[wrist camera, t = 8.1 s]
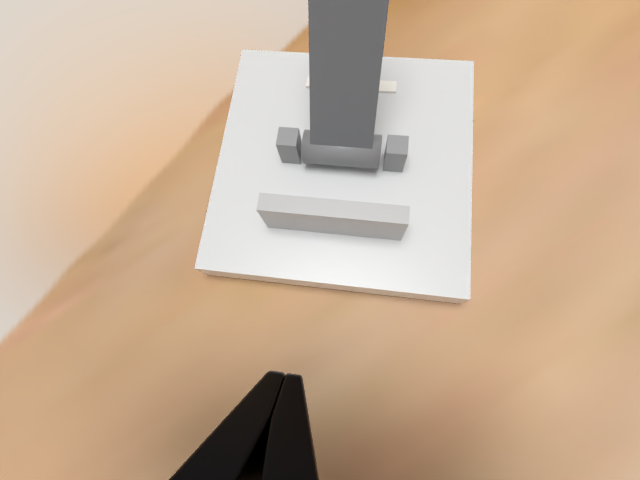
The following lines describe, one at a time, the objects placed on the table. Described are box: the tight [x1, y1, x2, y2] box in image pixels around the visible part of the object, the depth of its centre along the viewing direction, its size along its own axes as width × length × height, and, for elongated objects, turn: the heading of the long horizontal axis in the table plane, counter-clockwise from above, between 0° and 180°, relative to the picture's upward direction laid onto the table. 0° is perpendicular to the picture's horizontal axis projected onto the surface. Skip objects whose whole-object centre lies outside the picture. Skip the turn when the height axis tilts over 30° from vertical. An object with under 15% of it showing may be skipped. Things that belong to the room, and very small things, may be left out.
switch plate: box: [195, 50, 474, 304], centre depth 23 cm, size 16×16×5 cm
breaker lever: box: [301, 0, 389, 169], centre depth 19 cm, size 2×5×12 cm
